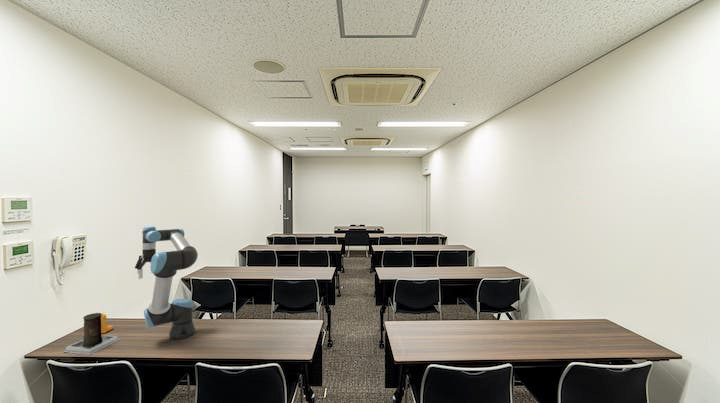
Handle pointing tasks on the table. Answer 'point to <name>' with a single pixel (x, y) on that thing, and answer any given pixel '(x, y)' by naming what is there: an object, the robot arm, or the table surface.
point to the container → (92, 330)
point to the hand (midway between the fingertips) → (149, 279)
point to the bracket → (104, 324)
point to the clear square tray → (79, 349)
